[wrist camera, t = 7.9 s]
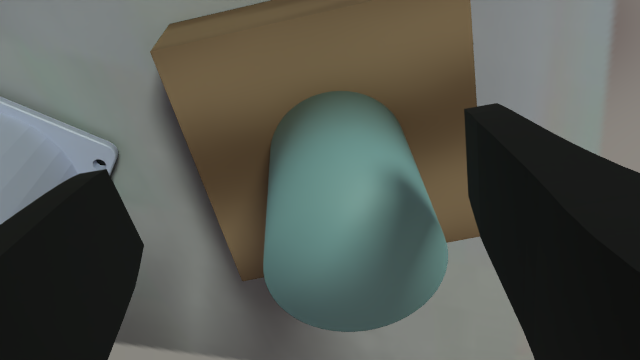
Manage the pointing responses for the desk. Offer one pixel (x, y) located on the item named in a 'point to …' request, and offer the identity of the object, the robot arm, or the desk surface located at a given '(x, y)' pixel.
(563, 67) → the desk surface
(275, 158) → the teal tapered rounded part
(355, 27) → the block
